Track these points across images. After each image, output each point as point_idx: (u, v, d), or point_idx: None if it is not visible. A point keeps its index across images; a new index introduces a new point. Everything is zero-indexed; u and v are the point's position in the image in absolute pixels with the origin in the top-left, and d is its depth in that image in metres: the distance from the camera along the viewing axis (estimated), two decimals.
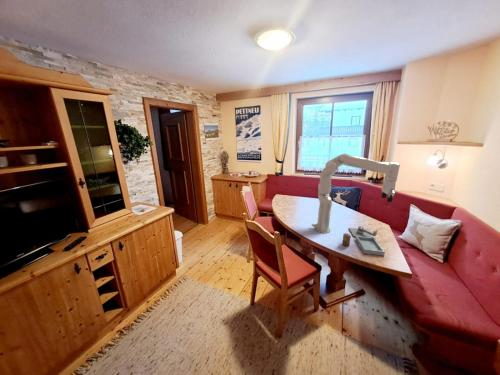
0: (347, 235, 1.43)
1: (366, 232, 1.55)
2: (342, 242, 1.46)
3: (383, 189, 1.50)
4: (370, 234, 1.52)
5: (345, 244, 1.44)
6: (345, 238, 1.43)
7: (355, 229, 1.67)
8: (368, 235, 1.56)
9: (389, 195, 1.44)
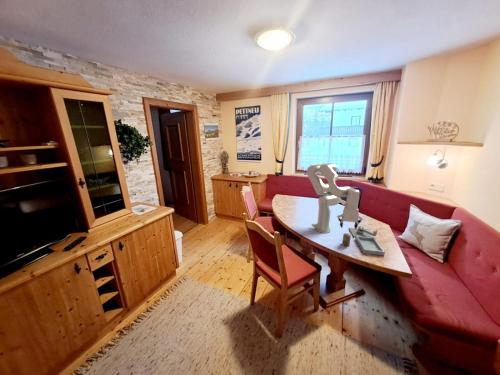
0: (347, 235, 1.43)
1: (366, 232, 1.55)
2: (342, 242, 1.46)
3: (348, 219, 1.37)
4: (370, 234, 1.52)
5: (345, 244, 1.44)
6: (345, 238, 1.43)
7: (355, 229, 1.67)
8: (368, 235, 1.56)
9: (358, 222, 1.38)
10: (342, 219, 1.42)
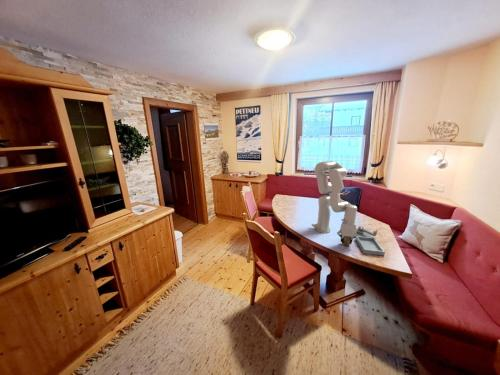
0: None
1: (366, 232, 1.55)
2: None
3: (346, 234, 1.41)
4: (370, 234, 1.52)
5: (345, 244, 1.44)
6: (345, 238, 1.43)
7: None
8: (368, 235, 1.56)
9: (353, 238, 1.42)
10: None
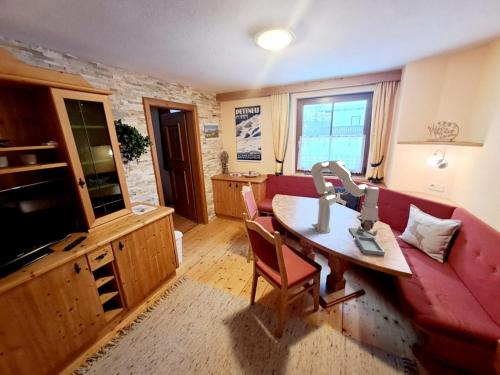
0: None
1: (366, 232, 1.55)
2: None
3: (367, 217, 1.34)
4: (370, 234, 1.52)
5: (366, 229, 1.37)
6: (366, 222, 1.36)
7: (355, 229, 1.67)
8: (368, 235, 1.56)
9: (374, 222, 1.35)
10: (362, 219, 1.39)
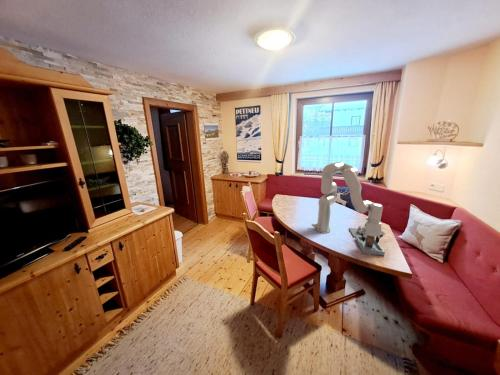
0: (371, 236, 1.40)
1: None
2: (365, 243, 1.42)
3: (370, 233, 1.37)
4: None
5: (369, 245, 1.40)
6: (369, 239, 1.39)
7: (355, 229, 1.67)
8: None
9: (379, 236, 1.38)
10: (364, 233, 1.41)
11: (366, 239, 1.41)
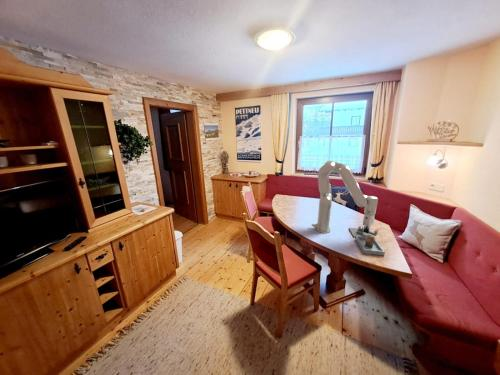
0: (371, 236, 1.40)
1: None
2: (365, 243, 1.42)
3: (371, 224, 1.49)
4: (371, 234, 1.53)
5: (369, 246, 1.40)
6: (369, 239, 1.39)
7: (355, 229, 1.67)
8: None
9: (369, 226, 1.53)
10: None
11: (366, 239, 1.41)
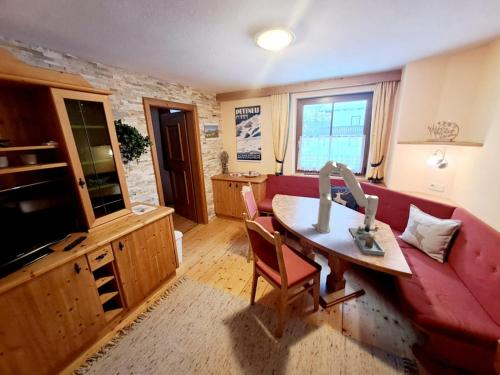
0: (370, 236, 1.40)
1: None
2: (365, 244, 1.42)
3: (371, 223, 1.51)
4: None
5: (369, 246, 1.40)
6: (369, 239, 1.39)
7: (355, 229, 1.67)
8: None
9: (370, 225, 1.55)
10: None
11: (366, 239, 1.41)
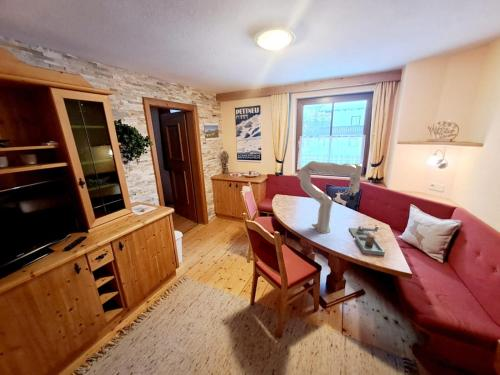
0: (371, 236, 1.40)
1: (368, 230, 1.58)
2: (365, 244, 1.42)
3: (356, 190, 1.57)
4: None
5: (369, 246, 1.40)
6: (369, 239, 1.39)
7: (355, 229, 1.67)
8: None
9: None
10: None
11: (366, 239, 1.41)
